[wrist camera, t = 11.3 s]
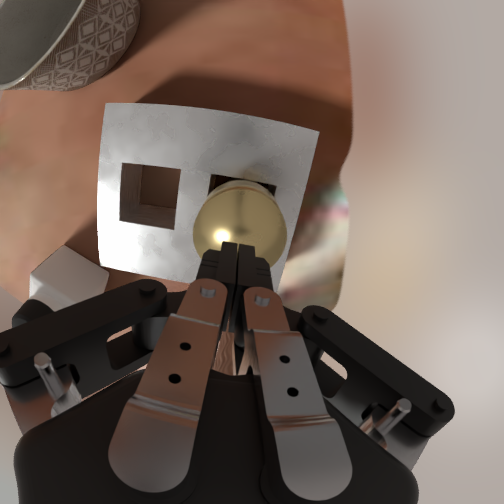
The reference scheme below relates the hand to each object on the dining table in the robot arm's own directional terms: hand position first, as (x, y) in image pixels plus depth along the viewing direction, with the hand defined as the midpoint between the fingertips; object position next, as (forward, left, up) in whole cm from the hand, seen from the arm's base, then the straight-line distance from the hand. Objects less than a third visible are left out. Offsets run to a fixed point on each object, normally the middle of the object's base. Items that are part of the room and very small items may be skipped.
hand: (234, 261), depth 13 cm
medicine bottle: (+13, -18, -13) cm, 25 cm away
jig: (0, -4, -13) cm, 13 cm away
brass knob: (0, 0, -13) cm, 13 cm away
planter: (-15, -19, -13) cm, 27 cm away
